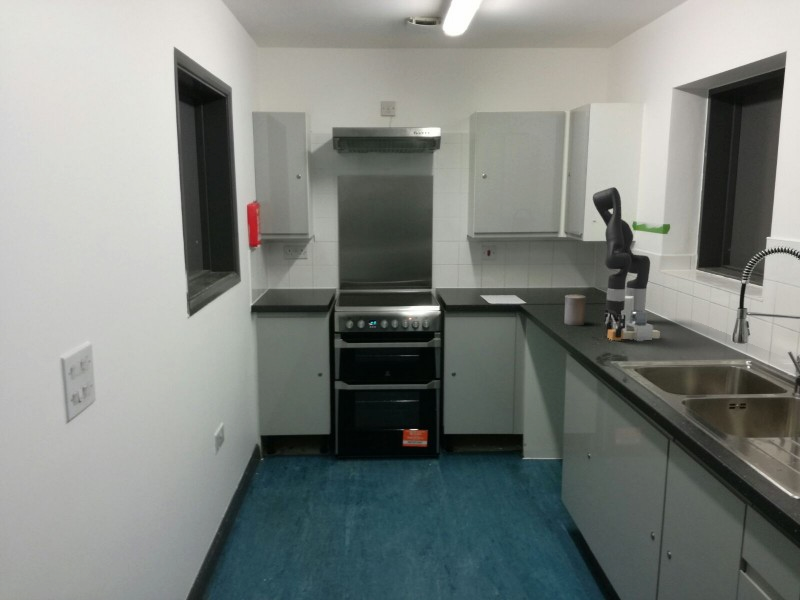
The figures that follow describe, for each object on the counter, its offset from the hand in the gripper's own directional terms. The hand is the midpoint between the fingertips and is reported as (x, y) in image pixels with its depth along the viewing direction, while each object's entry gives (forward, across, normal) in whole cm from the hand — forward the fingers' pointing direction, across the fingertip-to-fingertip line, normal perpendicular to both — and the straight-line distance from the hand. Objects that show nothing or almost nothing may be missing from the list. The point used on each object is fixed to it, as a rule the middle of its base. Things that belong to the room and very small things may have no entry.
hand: (613, 335), depth 261 cm
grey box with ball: (+2, 0, +11) cm, 11 cm away
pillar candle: (+2, -32, -3) cm, 32 cm away
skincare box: (+2, -17, +14) cm, 22 cm away
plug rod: (+2, +1, +9) cm, 9 cm away
